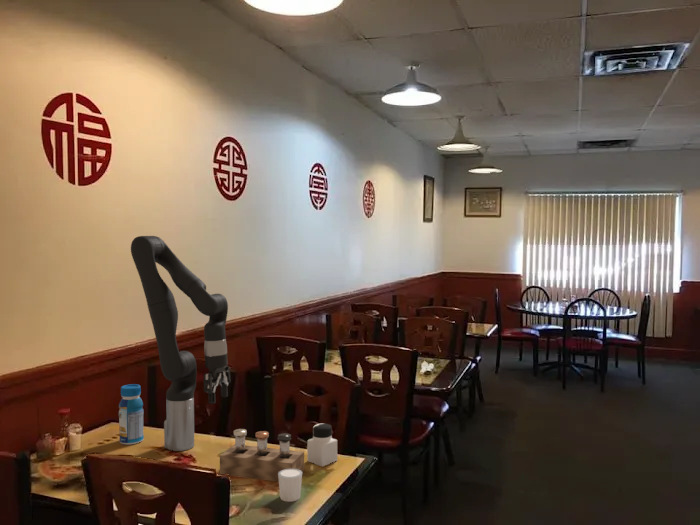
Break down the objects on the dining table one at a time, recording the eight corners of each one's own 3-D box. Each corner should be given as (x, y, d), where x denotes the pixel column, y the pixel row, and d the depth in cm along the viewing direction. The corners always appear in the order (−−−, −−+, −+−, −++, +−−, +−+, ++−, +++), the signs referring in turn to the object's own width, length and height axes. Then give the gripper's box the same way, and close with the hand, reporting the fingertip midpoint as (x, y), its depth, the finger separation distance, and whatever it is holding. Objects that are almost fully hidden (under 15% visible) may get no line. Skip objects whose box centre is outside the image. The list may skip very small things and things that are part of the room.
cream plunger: (231, 455, 185) (231, 432, 185) (237, 450, 189) (237, 428, 189) (243, 456, 184) (243, 433, 184) (248, 452, 188) (248, 429, 188)
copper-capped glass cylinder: (253, 457, 183) (253, 434, 183) (259, 453, 187) (258, 430, 187) (265, 458, 182) (265, 435, 182) (270, 454, 186) (270, 431, 186)
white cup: (292, 504, 163) (292, 479, 162) (273, 498, 166) (272, 474, 166) (307, 495, 168) (307, 471, 168) (288, 490, 172) (288, 466, 172)
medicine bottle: (337, 461, 194) (337, 424, 194) (322, 467, 189) (322, 430, 189) (322, 455, 199) (322, 420, 199) (306, 461, 194) (306, 425, 194)
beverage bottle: (139, 445, 209) (138, 389, 208) (115, 445, 209) (114, 389, 208) (147, 437, 217) (146, 383, 217) (124, 437, 218) (123, 383, 217)
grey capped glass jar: (276, 460, 181) (275, 436, 181) (281, 455, 185) (281, 432, 185) (288, 461, 180) (288, 438, 180) (293, 456, 184) (293, 433, 184)
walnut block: (219, 474, 184) (219, 455, 183) (234, 462, 193) (234, 444, 193) (292, 483, 177) (292, 463, 177) (304, 470, 186) (304, 451, 186)
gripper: (216, 349, 210) (218, 394, 210) (195, 356, 196) (197, 405, 196) (235, 349, 208) (238, 395, 208) (215, 357, 194) (218, 406, 194)
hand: (218, 400), depth 202 cm, fingers open, 8 cm apart
